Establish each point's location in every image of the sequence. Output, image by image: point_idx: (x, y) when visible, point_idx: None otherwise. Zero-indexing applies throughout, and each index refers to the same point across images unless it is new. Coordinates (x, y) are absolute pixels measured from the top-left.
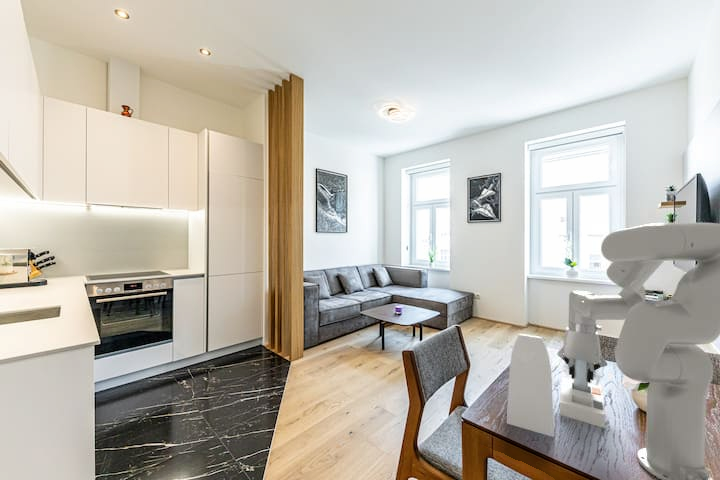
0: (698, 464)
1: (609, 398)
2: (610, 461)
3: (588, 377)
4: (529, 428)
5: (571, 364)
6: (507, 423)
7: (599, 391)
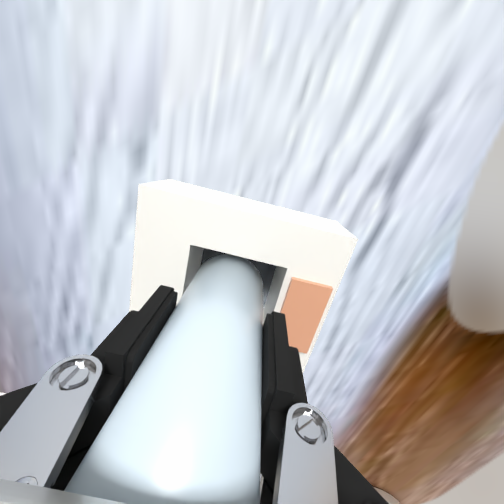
0: None
1: (381, 207)
2: None
3: None
4: None
5: (78, 461)
6: None
7: (313, 323)
